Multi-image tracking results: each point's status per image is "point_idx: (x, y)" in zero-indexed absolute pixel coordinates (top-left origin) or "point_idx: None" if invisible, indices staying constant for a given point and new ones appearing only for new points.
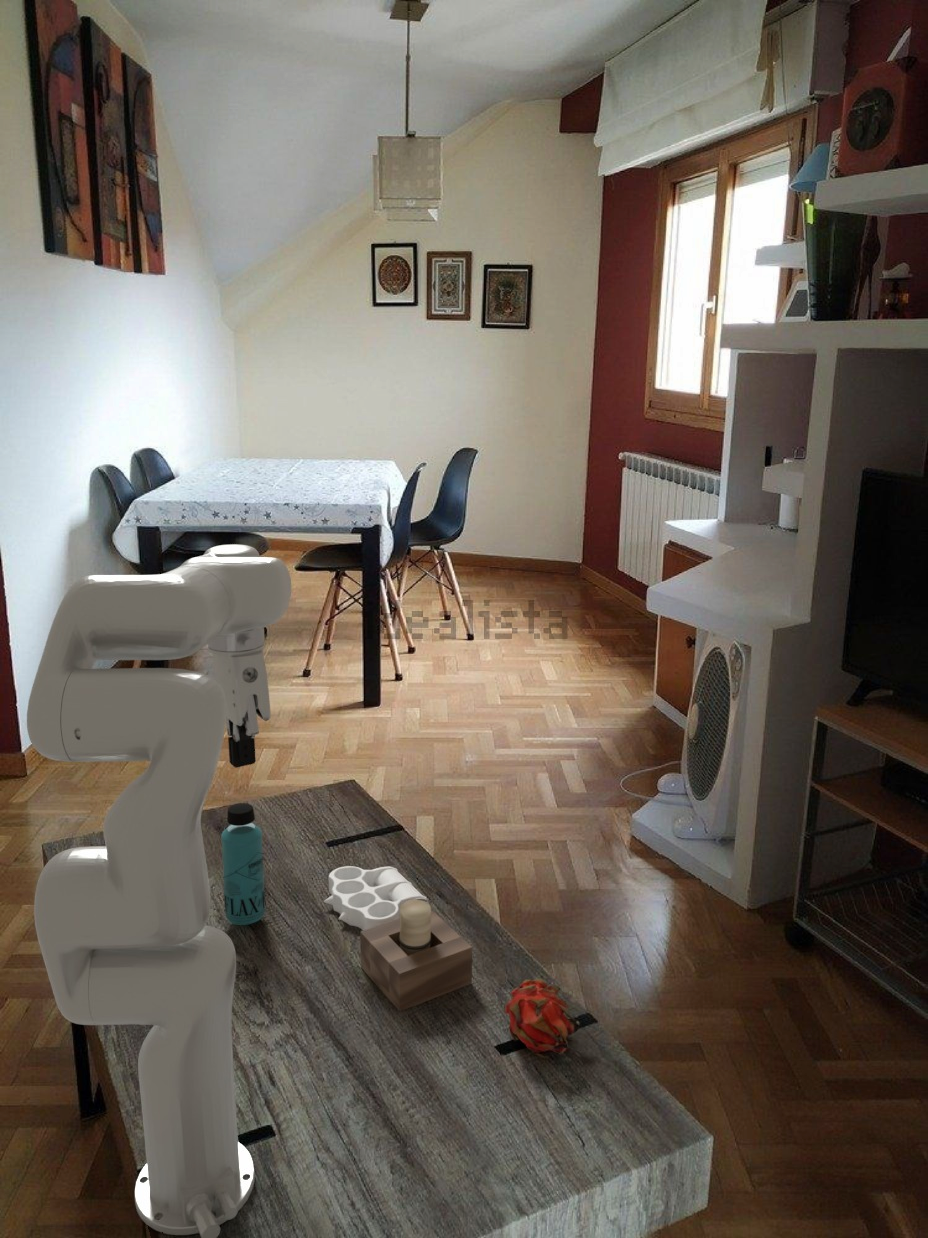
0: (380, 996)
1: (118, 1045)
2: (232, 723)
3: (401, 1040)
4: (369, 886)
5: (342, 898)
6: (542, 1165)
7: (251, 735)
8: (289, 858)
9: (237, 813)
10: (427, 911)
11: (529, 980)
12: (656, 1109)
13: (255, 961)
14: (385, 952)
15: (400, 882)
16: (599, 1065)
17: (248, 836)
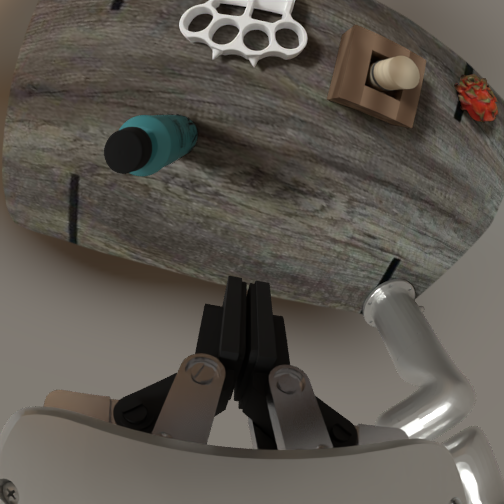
0: (368, 119)
1: None
2: (206, 444)
3: (412, 150)
4: (239, 16)
5: (238, 48)
6: (497, 182)
7: (320, 404)
8: (108, 49)
9: (136, 165)
10: (417, 70)
11: (479, 87)
12: None
13: (244, 161)
14: (383, 109)
15: None
16: None
17: (163, 147)
